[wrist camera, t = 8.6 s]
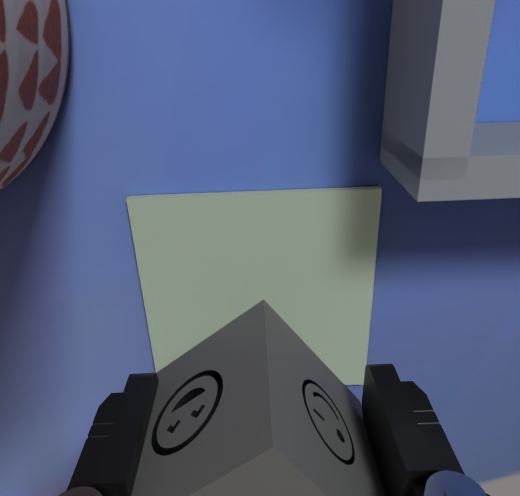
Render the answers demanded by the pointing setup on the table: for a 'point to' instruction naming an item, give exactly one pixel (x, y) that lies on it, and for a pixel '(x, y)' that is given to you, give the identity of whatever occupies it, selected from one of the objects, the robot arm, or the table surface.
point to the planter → (30, 78)
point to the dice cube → (255, 420)
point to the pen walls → (444, 105)
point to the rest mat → (260, 267)
